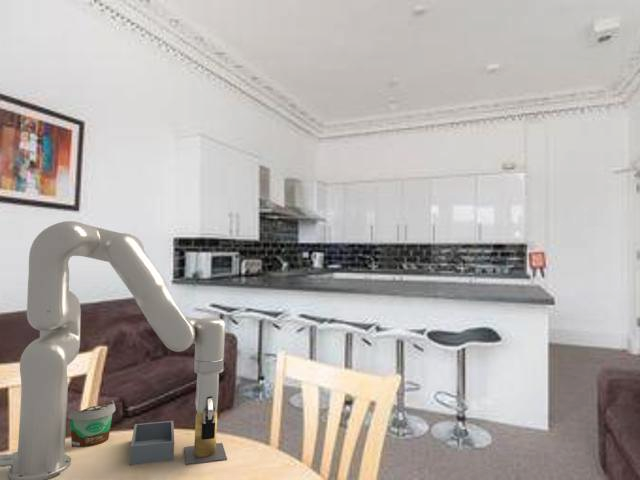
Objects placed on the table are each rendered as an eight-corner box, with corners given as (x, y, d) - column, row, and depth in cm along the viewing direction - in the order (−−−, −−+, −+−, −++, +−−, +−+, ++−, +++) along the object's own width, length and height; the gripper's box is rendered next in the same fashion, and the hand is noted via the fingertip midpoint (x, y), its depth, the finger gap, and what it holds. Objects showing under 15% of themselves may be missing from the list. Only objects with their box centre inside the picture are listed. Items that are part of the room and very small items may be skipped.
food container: (76, 455, 111) (78, 415, 111) (65, 448, 115) (67, 410, 115) (122, 440, 121) (124, 404, 121) (111, 434, 124) (113, 399, 125)
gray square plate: (186, 467, 107) (186, 463, 107) (184, 449, 116) (184, 446, 116) (226, 461, 110) (227, 458, 110) (222, 445, 119) (222, 442, 119)
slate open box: (129, 467, 106) (130, 446, 106) (133, 442, 119) (134, 424, 120) (173, 461, 109) (174, 441, 109) (172, 438, 123) (173, 420, 123)
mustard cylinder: (194, 458, 110) (196, 418, 110) (193, 449, 115) (195, 411, 115) (216, 455, 111) (218, 416, 112) (214, 447, 117) (216, 409, 117)
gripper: (192, 358, 121) (189, 420, 120) (196, 374, 105) (193, 446, 104) (219, 357, 124) (217, 418, 123) (227, 373, 107) (224, 443, 106)
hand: (206, 431), depth 113 cm, fingers open, 9 cm apart
